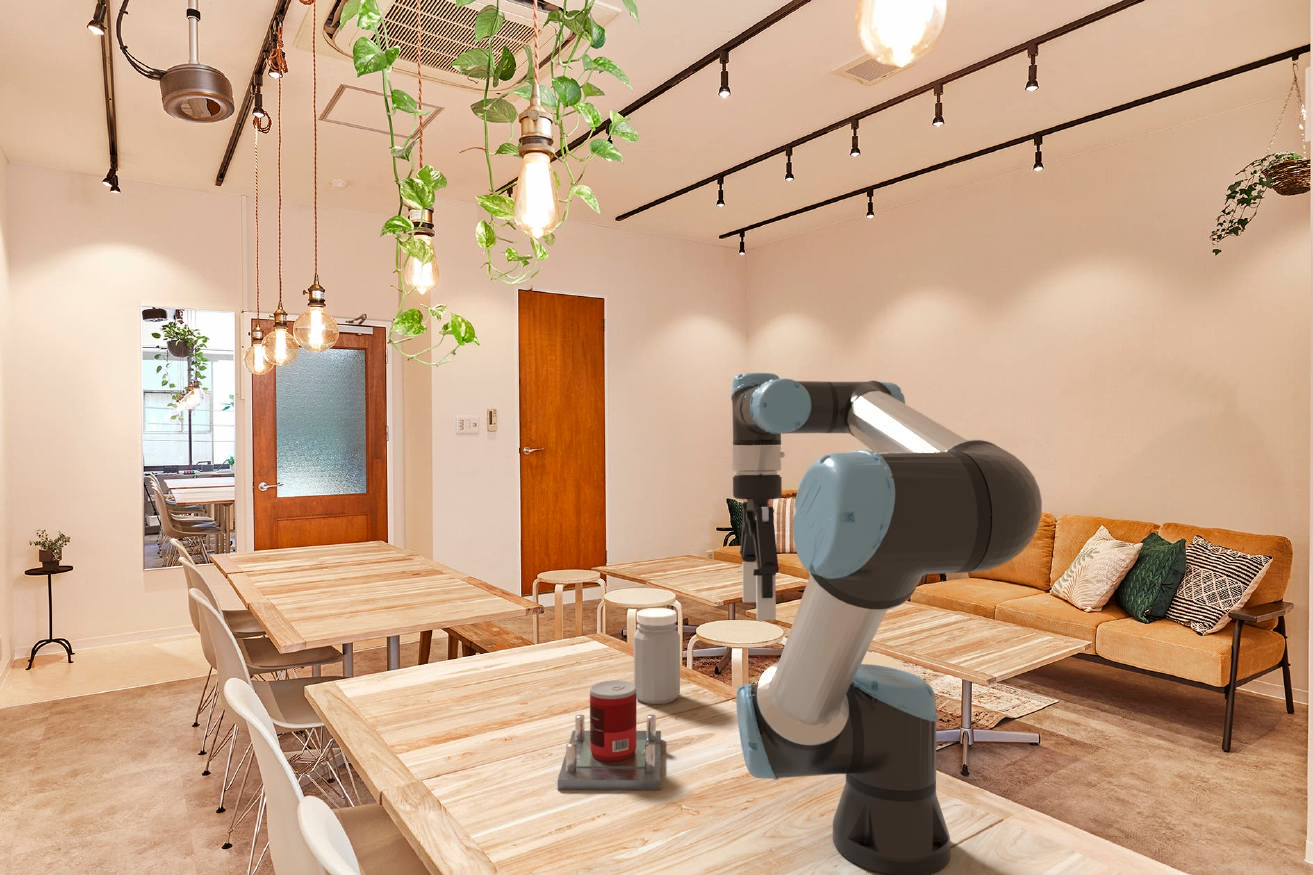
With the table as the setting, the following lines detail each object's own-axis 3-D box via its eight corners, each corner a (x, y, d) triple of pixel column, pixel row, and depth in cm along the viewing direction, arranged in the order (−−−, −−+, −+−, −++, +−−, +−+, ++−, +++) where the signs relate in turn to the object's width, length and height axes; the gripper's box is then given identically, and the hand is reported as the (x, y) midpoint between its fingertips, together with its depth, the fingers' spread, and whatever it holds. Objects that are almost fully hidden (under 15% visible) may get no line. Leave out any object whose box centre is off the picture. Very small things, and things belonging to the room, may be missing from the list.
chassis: (660, 789, 120) (660, 754, 120) (557, 789, 120) (557, 754, 120) (660, 738, 140) (660, 708, 140) (572, 738, 140) (572, 708, 140)
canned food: (644, 747, 132) (644, 683, 132) (622, 765, 125) (622, 697, 125) (604, 740, 135) (604, 677, 135) (581, 757, 128) (581, 691, 128)
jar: (626, 693, 165) (626, 609, 165) (668, 687, 169) (668, 605, 168) (644, 708, 156) (643, 619, 156) (687, 701, 160) (687, 614, 160)
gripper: (798, 475, 108) (800, 627, 108) (766, 471, 133) (767, 595, 132) (745, 475, 108) (746, 628, 107) (723, 471, 133) (724, 595, 132)
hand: (758, 610), depth 120 cm, fingers open, 13 cm apart
